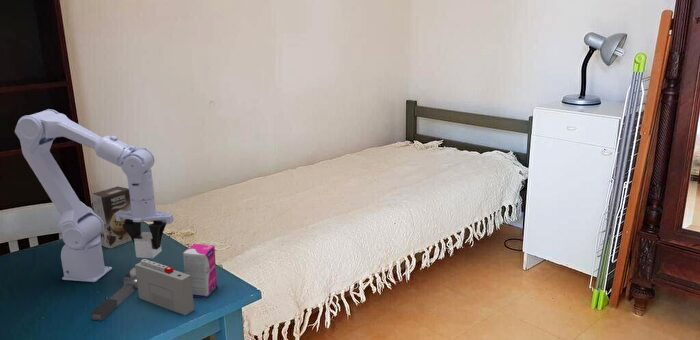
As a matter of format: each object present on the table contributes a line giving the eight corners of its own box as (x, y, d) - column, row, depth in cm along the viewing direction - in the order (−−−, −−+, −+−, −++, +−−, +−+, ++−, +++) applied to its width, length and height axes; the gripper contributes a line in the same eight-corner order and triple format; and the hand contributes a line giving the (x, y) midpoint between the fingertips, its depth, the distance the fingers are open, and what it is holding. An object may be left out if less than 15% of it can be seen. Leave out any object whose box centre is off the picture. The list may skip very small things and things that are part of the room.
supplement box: (208, 298, 132) (204, 254, 129) (185, 295, 133) (181, 252, 130) (218, 286, 137) (214, 244, 134) (196, 284, 138) (192, 243, 135)
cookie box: (110, 249, 159) (103, 197, 155) (97, 244, 163) (90, 193, 158) (137, 238, 167) (131, 188, 162) (124, 234, 170) (117, 185, 165)
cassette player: (194, 310, 127) (190, 271, 124) (185, 315, 124) (181, 276, 122) (148, 293, 134) (143, 256, 131) (139, 298, 132) (134, 260, 129)
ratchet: (132, 278, 142) (130, 263, 141) (153, 279, 141) (152, 264, 140) (85, 319, 123) (82, 302, 122) (109, 321, 122) (106, 304, 121)
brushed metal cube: (136, 257, 139) (133, 238, 138) (145, 249, 144) (143, 231, 142) (153, 258, 138) (150, 239, 137) (161, 250, 143) (159, 232, 142)
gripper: (106, 201, 134) (113, 252, 138) (161, 204, 132) (167, 255, 136) (121, 192, 140) (127, 240, 144) (175, 194, 138) (179, 244, 142)
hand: (147, 247), depth 140 cm, fingers closed on brushed metal cube, 5 cm apart
